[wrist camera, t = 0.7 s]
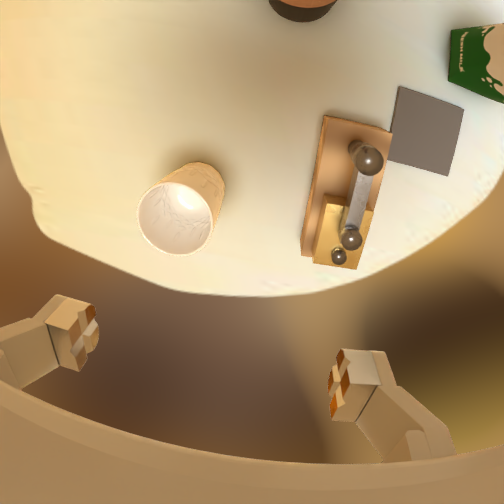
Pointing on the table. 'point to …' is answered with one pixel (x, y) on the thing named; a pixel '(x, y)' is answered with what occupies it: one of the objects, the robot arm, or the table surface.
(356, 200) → the lever
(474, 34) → the milk carton
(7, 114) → the table surface
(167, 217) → the white cup
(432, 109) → the rubber mat
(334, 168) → the plane body
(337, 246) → the gold block with knob
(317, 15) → the travel mug
